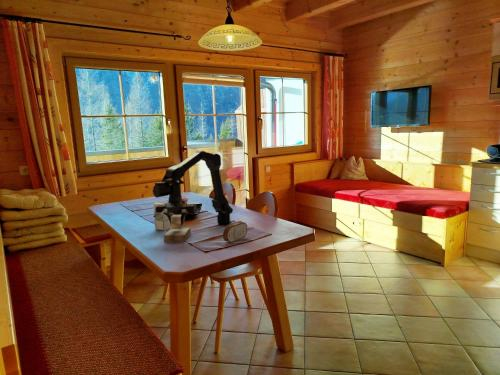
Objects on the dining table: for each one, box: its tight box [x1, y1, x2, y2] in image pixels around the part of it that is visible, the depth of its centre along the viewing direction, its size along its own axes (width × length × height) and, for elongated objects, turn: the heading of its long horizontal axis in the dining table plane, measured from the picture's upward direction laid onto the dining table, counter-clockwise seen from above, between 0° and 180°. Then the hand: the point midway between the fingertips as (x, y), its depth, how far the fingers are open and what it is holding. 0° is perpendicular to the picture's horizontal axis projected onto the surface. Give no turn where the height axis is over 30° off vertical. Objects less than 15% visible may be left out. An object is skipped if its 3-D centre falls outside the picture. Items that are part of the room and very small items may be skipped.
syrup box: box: [153, 201, 171, 231], centre depth 182 cm, size 6×6×14 cm
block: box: [170, 214, 184, 229], centre depth 166 cm, size 4×4×6 cm
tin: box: [222, 220, 248, 244], centre depth 162 cm, size 15×3×8 cm, turn 141°
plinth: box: [163, 227, 192, 243], centre depth 167 cm, size 10×12×3 cm
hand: (177, 225), depth 167 cm, fingers closed on block, 4 cm apart
